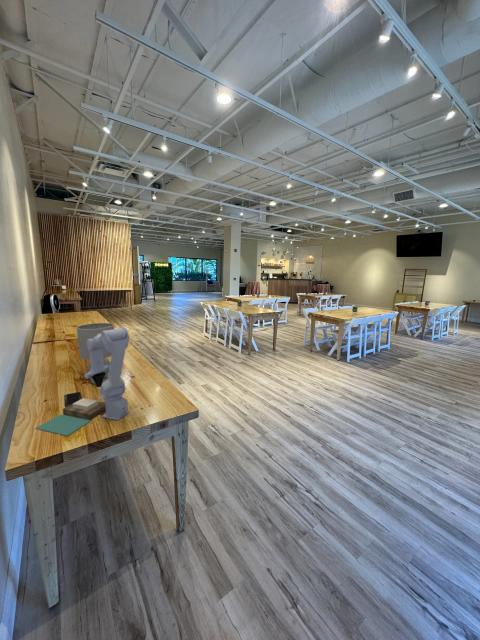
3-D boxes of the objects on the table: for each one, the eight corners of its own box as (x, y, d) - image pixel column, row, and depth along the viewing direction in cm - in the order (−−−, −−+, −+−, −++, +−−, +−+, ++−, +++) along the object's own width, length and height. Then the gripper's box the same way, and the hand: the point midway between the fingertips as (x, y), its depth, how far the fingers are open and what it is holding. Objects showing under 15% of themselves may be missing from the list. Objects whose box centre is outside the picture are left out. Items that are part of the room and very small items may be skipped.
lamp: (105, 372, 181) (101, 321, 175) (124, 378, 171) (121, 324, 165) (75, 382, 164) (69, 326, 158) (94, 390, 154) (89, 330, 148)
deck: (108, 408, 133) (107, 403, 133) (90, 420, 123) (89, 414, 122) (82, 404, 137) (82, 398, 137) (63, 414, 127) (62, 408, 127)
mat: (91, 421, 122) (90, 420, 122) (67, 436, 111) (67, 435, 111) (60, 414, 127) (60, 414, 127) (35, 428, 116) (35, 428, 116)
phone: (64, 406, 134) (64, 394, 146) (64, 408, 134) (64, 396, 146) (82, 402, 138) (80, 391, 151) (82, 404, 138) (81, 393, 151)
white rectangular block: (97, 404, 131) (97, 400, 131) (87, 410, 125) (87, 406, 125) (83, 401, 134) (83, 398, 133) (73, 407, 128) (72, 403, 128)
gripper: (101, 356, 143) (103, 380, 145) (78, 365, 129) (81, 391, 131) (112, 357, 141) (114, 381, 143) (90, 366, 127) (92, 393, 129)
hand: (99, 386), depth 137 cm, fingers closed
